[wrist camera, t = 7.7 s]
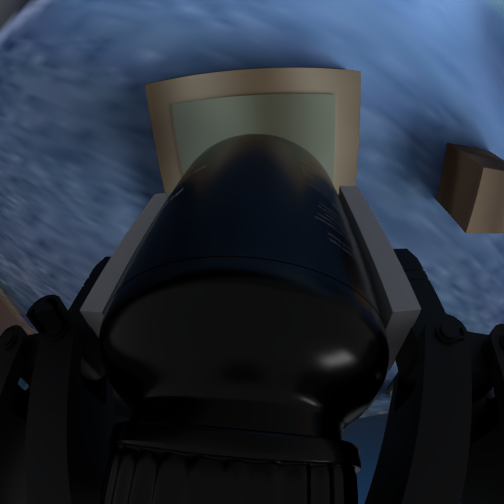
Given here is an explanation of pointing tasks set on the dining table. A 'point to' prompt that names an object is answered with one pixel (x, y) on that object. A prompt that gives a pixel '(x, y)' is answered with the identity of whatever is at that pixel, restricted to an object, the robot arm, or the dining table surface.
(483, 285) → the dining table surface
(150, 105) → the plinth
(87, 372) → the robot arm
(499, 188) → the walnut cube
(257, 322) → the supplement bottle
